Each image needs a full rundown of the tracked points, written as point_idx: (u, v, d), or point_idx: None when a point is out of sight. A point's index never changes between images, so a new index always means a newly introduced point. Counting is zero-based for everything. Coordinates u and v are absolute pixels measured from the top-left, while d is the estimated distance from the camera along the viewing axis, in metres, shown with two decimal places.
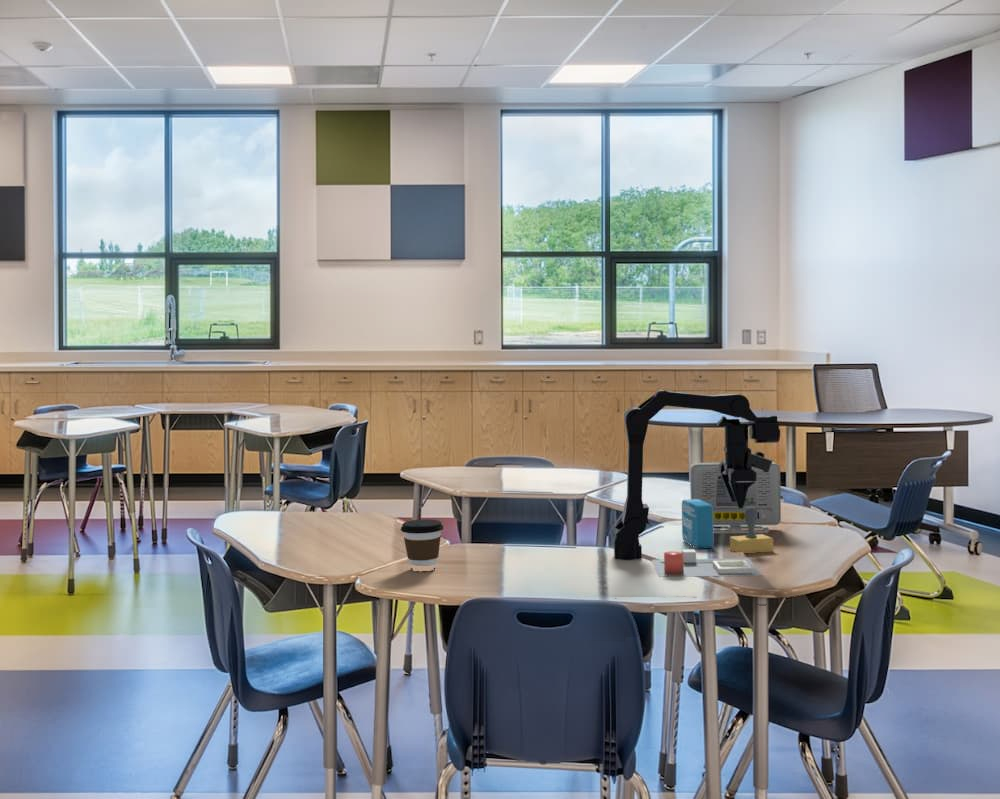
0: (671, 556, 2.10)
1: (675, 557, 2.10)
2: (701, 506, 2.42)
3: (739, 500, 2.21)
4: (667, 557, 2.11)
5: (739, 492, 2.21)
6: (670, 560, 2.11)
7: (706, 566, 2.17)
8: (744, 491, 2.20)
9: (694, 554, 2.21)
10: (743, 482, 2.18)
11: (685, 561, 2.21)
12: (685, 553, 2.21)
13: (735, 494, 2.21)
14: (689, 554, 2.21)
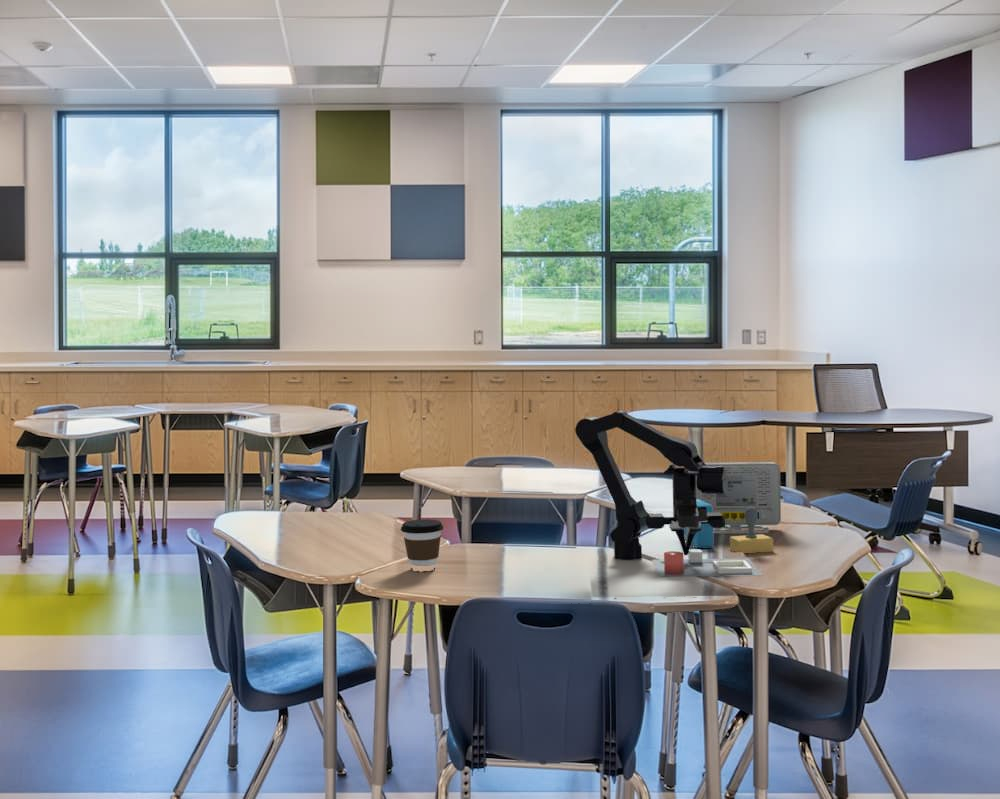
0: (671, 556, 2.10)
1: (675, 557, 2.10)
2: None
3: (681, 546, 2.23)
4: (667, 557, 2.11)
5: None
6: (670, 560, 2.11)
7: (706, 566, 2.17)
8: None
9: (700, 554, 2.21)
10: (670, 527, 2.22)
11: (691, 561, 2.21)
12: (691, 553, 2.21)
13: None
14: (695, 554, 2.21)
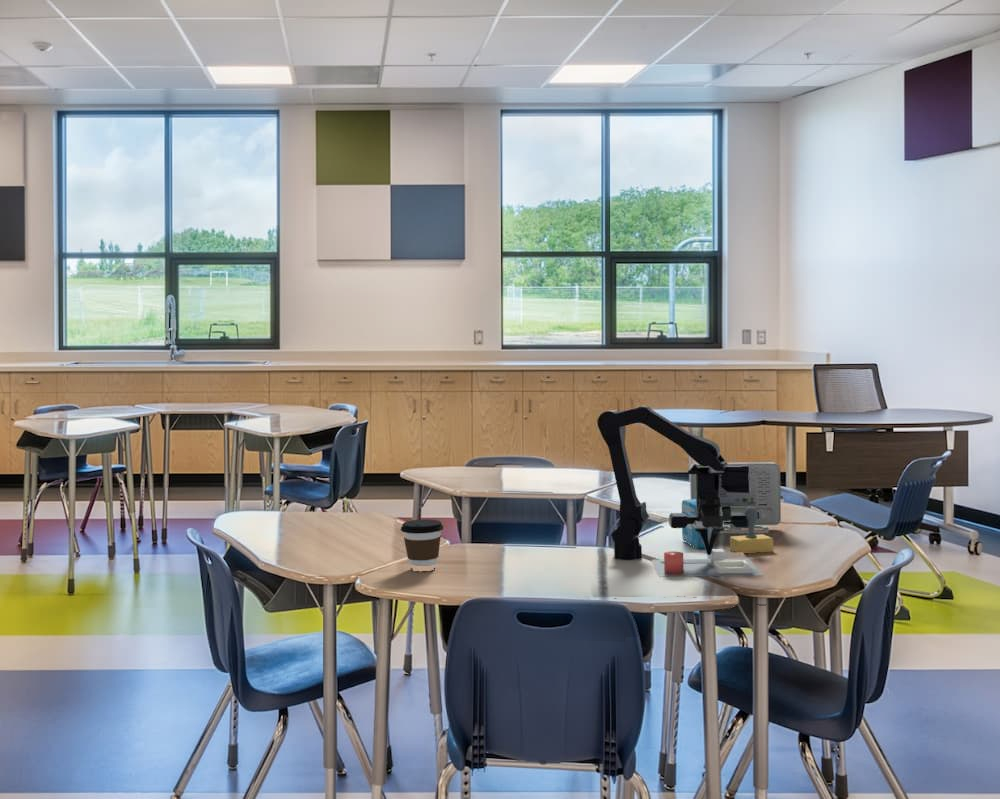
0: (671, 556, 2.10)
1: (675, 557, 2.10)
2: None
3: (704, 546, 2.22)
4: (667, 557, 2.11)
5: None
6: (670, 560, 2.11)
7: (706, 566, 2.17)
8: None
9: (723, 554, 2.20)
10: (693, 527, 2.22)
11: None
12: (714, 553, 2.20)
13: None
14: (718, 554, 2.20)
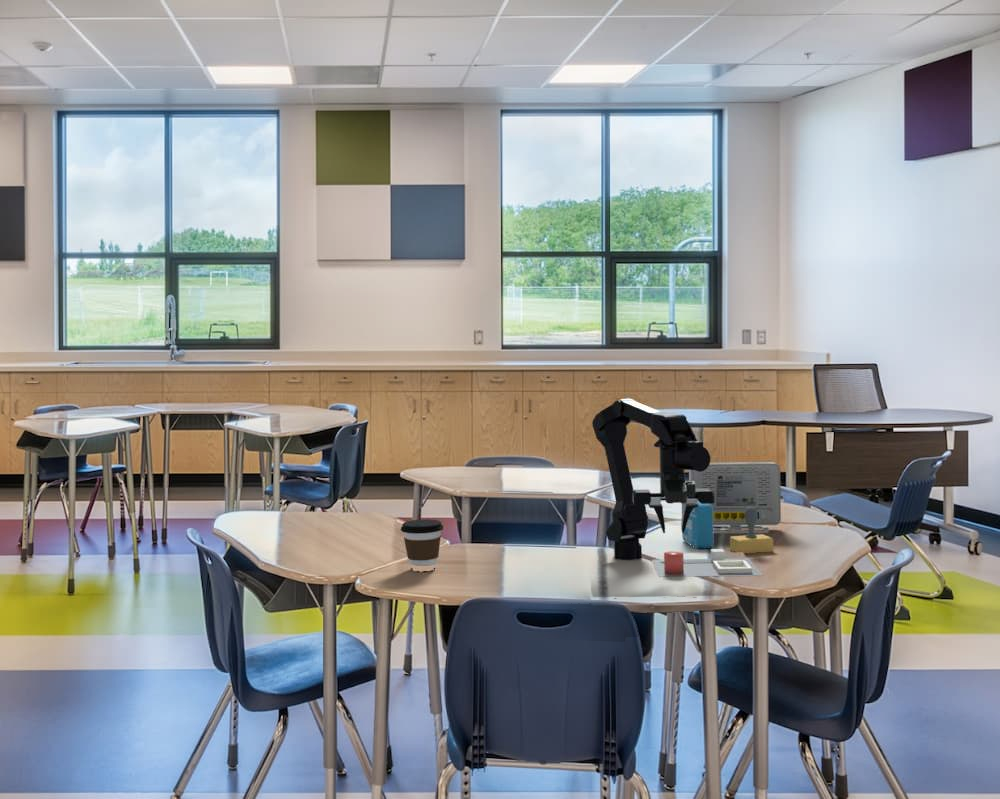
0: (671, 556, 2.10)
1: (675, 557, 2.10)
2: (701, 506, 2.42)
3: (660, 524, 2.13)
4: (667, 557, 2.11)
5: (658, 515, 2.13)
6: (670, 560, 2.11)
7: (706, 566, 2.17)
8: None
9: (723, 554, 2.20)
10: (649, 504, 2.12)
11: None
12: (714, 553, 2.20)
13: None
14: (718, 554, 2.20)
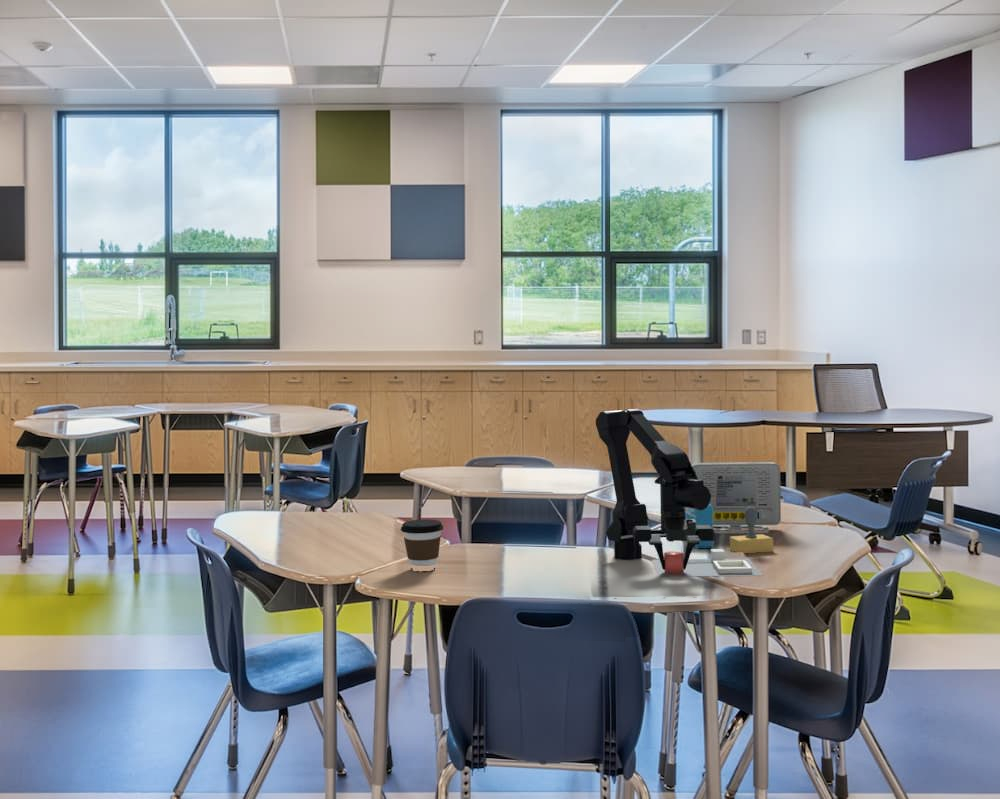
0: (671, 556, 2.10)
1: (675, 557, 2.10)
2: None
3: None
4: (667, 557, 2.11)
5: None
6: (670, 560, 2.11)
7: (706, 566, 2.17)
8: None
9: (723, 554, 2.20)
10: (648, 541, 2.13)
11: None
12: (714, 553, 2.20)
13: None
14: (718, 554, 2.20)
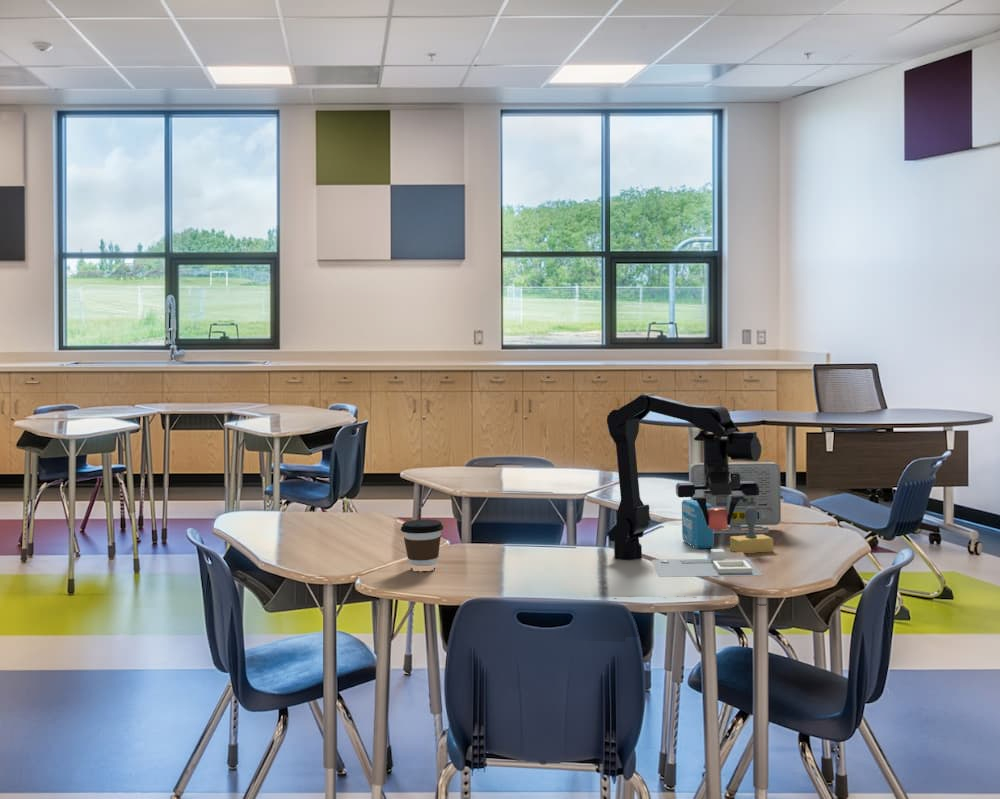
0: (715, 511, 2.10)
1: (719, 512, 2.10)
2: None
3: (703, 516, 2.13)
4: (711, 512, 2.11)
5: None
6: (714, 515, 2.10)
7: (706, 566, 2.17)
8: None
9: (723, 554, 2.20)
10: (692, 497, 2.13)
11: None
12: (714, 553, 2.20)
13: None
14: (718, 554, 2.20)
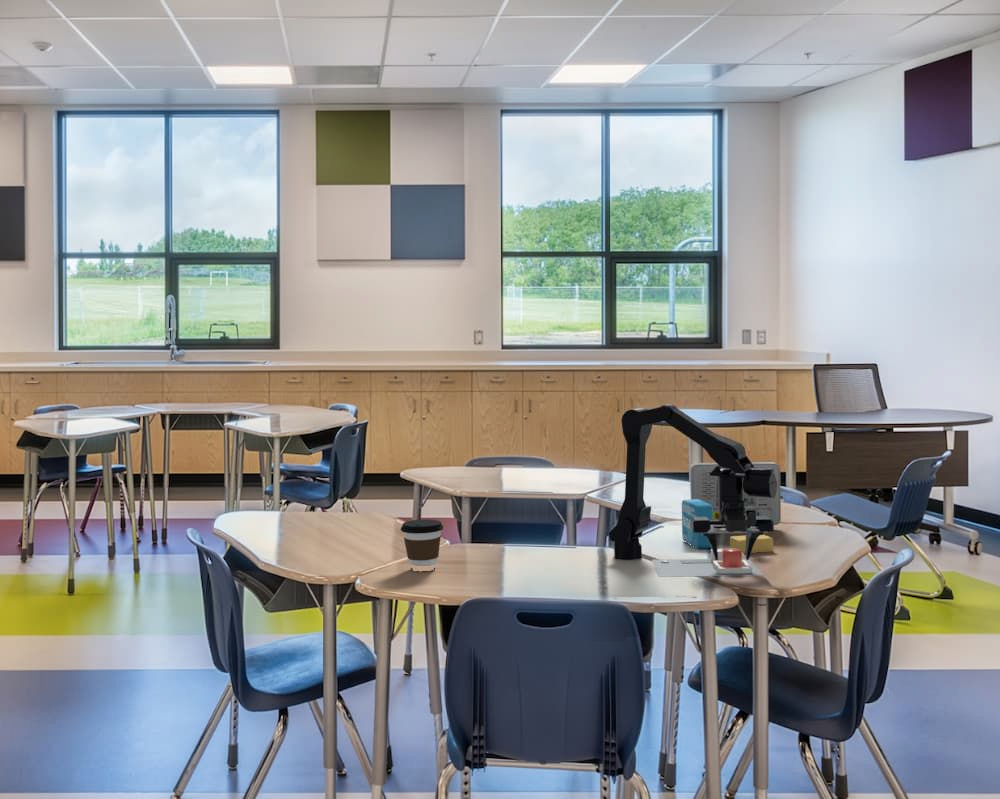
0: (730, 553, 2.11)
1: (734, 554, 2.11)
2: (701, 506, 2.42)
3: None
4: (726, 554, 2.12)
5: (710, 542, 2.14)
6: (729, 557, 2.12)
7: (706, 566, 2.17)
8: None
9: None
10: None
11: None
12: None
13: (710, 543, 2.15)
14: (718, 554, 2.20)
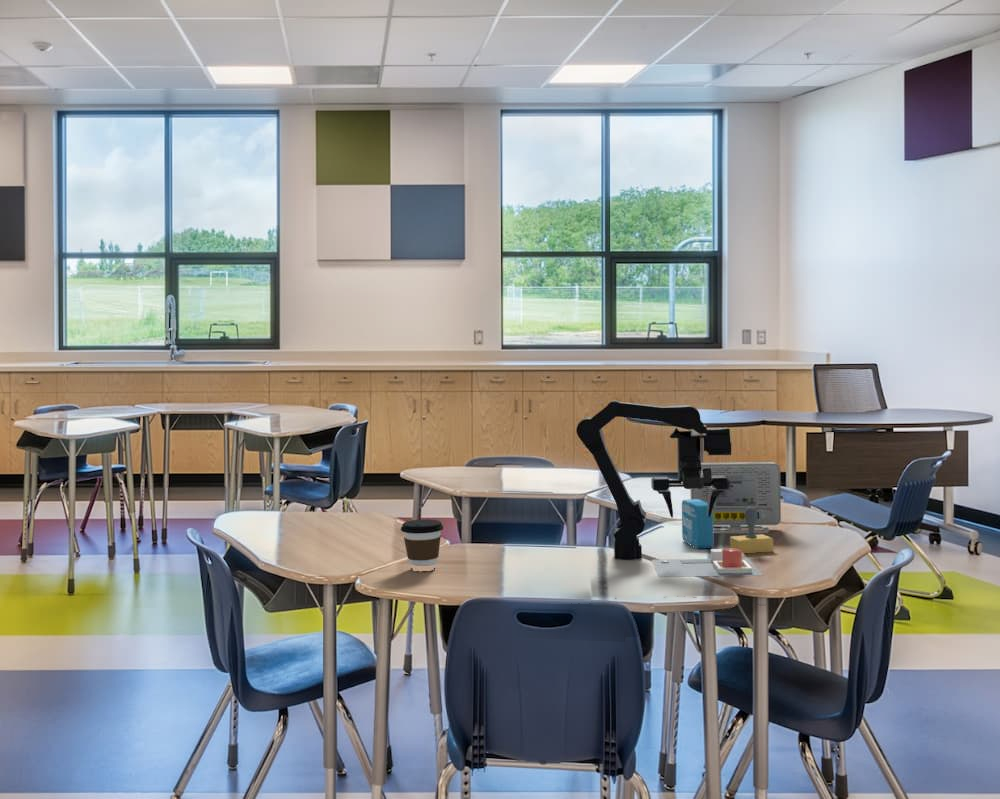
0: (730, 553, 2.11)
1: (734, 554, 2.11)
2: (701, 506, 2.42)
3: (668, 509, 2.26)
4: (726, 554, 2.12)
5: None
6: (729, 557, 2.12)
7: (706, 566, 2.17)
8: None
9: None
10: (657, 490, 2.26)
11: None
12: (714, 553, 2.20)
13: None
14: (718, 554, 2.20)
